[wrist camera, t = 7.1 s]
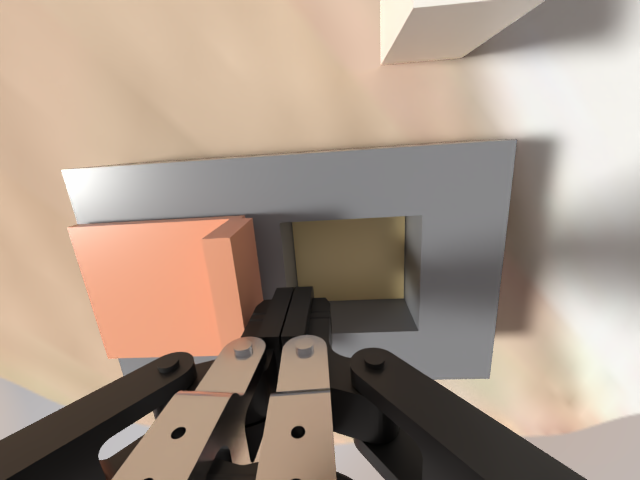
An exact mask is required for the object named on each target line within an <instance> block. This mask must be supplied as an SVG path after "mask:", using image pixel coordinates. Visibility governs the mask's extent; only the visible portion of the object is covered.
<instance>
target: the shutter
mask: <svg viewBox="0 0 640 480" xmlns="http://www.w3.org/2000/svg"><path fill="white" fill-rule="evenodd" d="M67 229H68V232H69V235H70V238H71V242H72V245H73V248H74V251H75V254H76V258H77V261H78V264H79V267H80V270H81V274H82V277H83V280H84V283H85V286H86V289H87V293H88V296H89V299H90V302H91V305H92V309H93V312H94V315H95V318H96V321H97V324H98V328H99V331H100V334H101V337H102V340H103V344H104V347H105V350H106V353H107V356H108V358H149V357H162V356H164V355H167V354H170V353H174V352H187V353H190V354H191V355H192V356H218V355H219V354H220V352H221V351H222V349H223V348H224V347H225V346H226V345H227V344H228V343H230V342H231V341H233V340H236V339H238V338H241V336H242V334H243V332H244V330H245V328H246V326H247V324H248V322H249V321H250V318H251V316H252V315H253V312H254V310H255V308H256V306H257V305H258V304H260V303H261V302H262V301H263V294H262V287H261V279H260V271H259V264H258V256H257V249H256V241H255V234H254V226H253V218H245V215H241V216H223V217H204V218H186V219H167V220H149V221H130V222H112V223H94V224H77V225H74V226H71V227H68V228H67Z"/></svg>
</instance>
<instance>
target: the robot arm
mask: <svg viewBox="0 0 640 480" xmlns="http://www.w3.org/2000/svg"><path fill="white" fill-rule="evenodd" d="M152 411H153V413H154V416H155V421H154V423H153V424H152V425H151V427H150V428H149V430H148V431H147V432H146V434H144V435H143V436H142V437H140V438H138V439H137V440H136V441H134V442H133V443H131V444H130V445H128V446H127V447H125V448H124V449H122V450H121V451H119V452H118V453H116V454H115V455H113V456H112V457H110V458H108V459H105V460H99V458H98V454H99V450H100V448H101V447H102V445H103V444H104V443H105V442H106V441H107V440H108V439H109V438H111V437H112V436H114V435H115V434H117V433H118V432H120V431H121V430H123V429H125V428H126V427H128V426H130V425H131V424H133V423H134V422H136V421H137V420H139V419H141V418H142V417H144V416H145V415H147V414H149V413H150V412H152ZM333 432H336V433H339V434H343V435H346V436H349V437H352V438H354V443H355V446H356V448H357V449H358V450H359V451H360V453H361V454H362V455H363V456H364V457H365V458H366V459H367V460H368V461H369V462H370V464H371V465H372V466H373V467H374V468H375V469H376V470H377V471H378V472H379V474H380V475H381V476H382V477H383V478H384V479H385V480H587V479H585V478H584V477H582V476H581V475H579V474H578V473H576V472H574V471H573V470H571V469H570V468H568V467H567V466H565V465H564V464H562V463H561V462H559V461H558V460H556V459H554V458H553V457H551V456H550V455H548V454H547V453H545V452H544V451H542V450H541V449H539V448H537V447H536V446H534V445H533V444H531V443H530V442H528V441H527V440H525V439H524V438H522V437H521V436H519V435H517V434H516V433H514V432H513V431H511V430H510V429H508V428H507V427H505V426H504V425H502V424H501V423H499V422H497V421H496V420H494V419H493V418H491V417H490V416H488V415H487V414H485V413H484V412H482V411H481V410H479V409H477V408H476V407H474V406H473V405H471V404H470V403H468V402H467V401H465V400H464V399H462V398H460V397H459V396H457V395H456V394H454V393H453V392H451V391H450V390H448V389H447V388H445V387H444V386H442V385H440V384H439V383H437V382H436V381H434V380H433V379H431V378H430V377H428V376H427V375H425V374H423V373H422V372H420V371H419V370H417V369H416V368H414V367H413V366H411V365H410V364H408V363H407V362H405V361H403V360H402V359H400V358H399V357H397V356H396V355H394V354H393V353H391V352H389V351H387V350H385V349H381V348H365V349H361V350H359V351H357V352H356V353H355V354H354V355H353V356H352V357H351V358H349V357H345V356H342V355H339V354H337V353H336V352H334V351H333V350H332V322H331V306H330V303H329V301H328V300H327V299H326V298H314V289H313V286H307V287H282V288H276V290H275V293H274V295H273V298H272V300H263V301H262V302H261V303H260V304H258V305H257V306H256V308H255V310H254V312H253V315H252V316H251V318H250V321H249V322H248V324H247V326H246V328H245V330H244V332H243V334H242V336H241V338H238V339H236V340H233V341H231V342H230V343H228V344H227V345H226V346H225V347H224V348H223V349H222V351H221V352H220V354H219V355H218V357H217V358H216V359H215V360H211V361H207V362H203V363H199V364H195V362H194V358H193V356H192V355H191V354H190V353H187V352H174V353H170V354H167V355H164V356H162V357H160V358H158V359H156V360H154V361H152V362H150V363H148V364H146V365H144V366H142V367H140V368H138V369H137V370H135V371H133V372H131V373H129V374H127V375H125V376H123V377H121V378H119V379H117V380H115V381H113V382H112V383H110V384H108V385H106V386H104V387H102V388H100V389H98V390H96V391H94V392H92V393H90V394H88V395H87V396H85V397H83V398H81V399H79V400H77V401H75V402H73V403H71V404H69V405H67V406H65V407H64V408H62V409H60V410H58V411H56V412H54V413H52V414H50V415H48V416H46V417H44V418H42V419H41V420H39V421H37V422H35V423H33V424H31V425H29V426H27V427H25V428H23V429H21V430H20V431H17V432H16V433H14V434H12V435H10V436H8V437H6V438H4V439H2V440H0V480H353V479H351V478H349V477H347V476H345V475H343V474H341V473H339V472H336V465H335V453H334V438H333Z"/></svg>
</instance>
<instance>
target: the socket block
mask: <svg viewBox="0 0 640 480" xmlns="http://www.w3.org/2000/svg"><path fill="white" fill-rule="evenodd" d="M516 144H517V140H475V141H460V142H445V143H430V144H415V145H400V146H385V147H370V148H356V149H341V150H326V151H311V152H296V153H281V154H266V155H251V156H236V157H221V158H206V159H191V160H176V161H161V162H146V163H131V164H117V165H107V166H96V167H86V168H75V169H65V170H61V171H62V174H63V178H64V181H65V184H66V187H67V191H68V194H69V197H70V201H71V204H72V207H73V211H74V214H75V217H76V220H77V224H94V223H112V222H130V221H149V220H167V219H186V218H204V217H223V216H241V215H245V218H253V226H254V234H255V241H256V249H257V256H258V264H259V271H260V279H261V287H262V294H263V300H272V298H273V295H274V293H275V290H276V288H282V287H307V286H313V289H314V298H326V299H327V300H328V301H329V303H330V306H331V322H332V350H333V351H334V352H336V353H337V354H339V355H342V356H345V357H349V358H351V357H352V356H353V355H354V354H355V353H356V352H357V351H359V350H361V349H365V348H381V349H385V350H387V351H389V352H391V353H393V354H394V355H396V356H397V357H399V358H400V359H402V360H403V361H405V362H407V363H408V364H410V365H411V366H413V367H414V368H416V369H417V370H419V371H420V372H422V373H423V374H425V375H427V376H428V377H430V378H431V379H433V380H437V379H490V371H491V362H492V353H493V345H494V336H495V327H496V319H497V310H498V301H499V292H500V284H501V275H502V266H503V258H504V249H505V240H506V232H507V223H508V214H509V205H510V197H511V188H512V179H513V171H514V162H515V153H516ZM217 357H218V356H193V358H194V362H195V364H199V363H203V362H207V361H211V360H215V359H216V358H217ZM158 358H160V357H149V358H118V359H119V363H120V366H121V369H122V372H123V376H125V375H127V374H129V373H131V372H133V371H135V370H137V369H138V368H140V367H142V366H144V365H146V364H148V363H150V362H152V361H154V360H156V359H158Z"/></svg>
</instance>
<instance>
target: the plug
mask: <svg viewBox="0 0 640 480" xmlns="http://www.w3.org/2000/svg"><path fill="white" fill-rule="evenodd" d="M544 1H546V0H380V37H381V65H389V64H401V63H412V62H424V61H436V60H447V59H459V58H462V57H464V56H465V55H467V54H468V53H470V52H471V51H473V50H474V49H475V48H477V47H478V46H480V45H481V44H483V43H484V42H486V41H487V40H489V39H490V38H492V37H493V36H494V35H496V34H497V33H499V32H500V31H502V30H503V29H505V28H506V27H508V26H509V25H511V24H512V23H513V22H515V21H516V20H518V19H519V18H521V17H522V16H524V15H525V14H527V13H528V12H530V11H531V10H532V9H534V8H535V7H537V6H538V5H540V4H541V3H543V2H544Z"/></svg>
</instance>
